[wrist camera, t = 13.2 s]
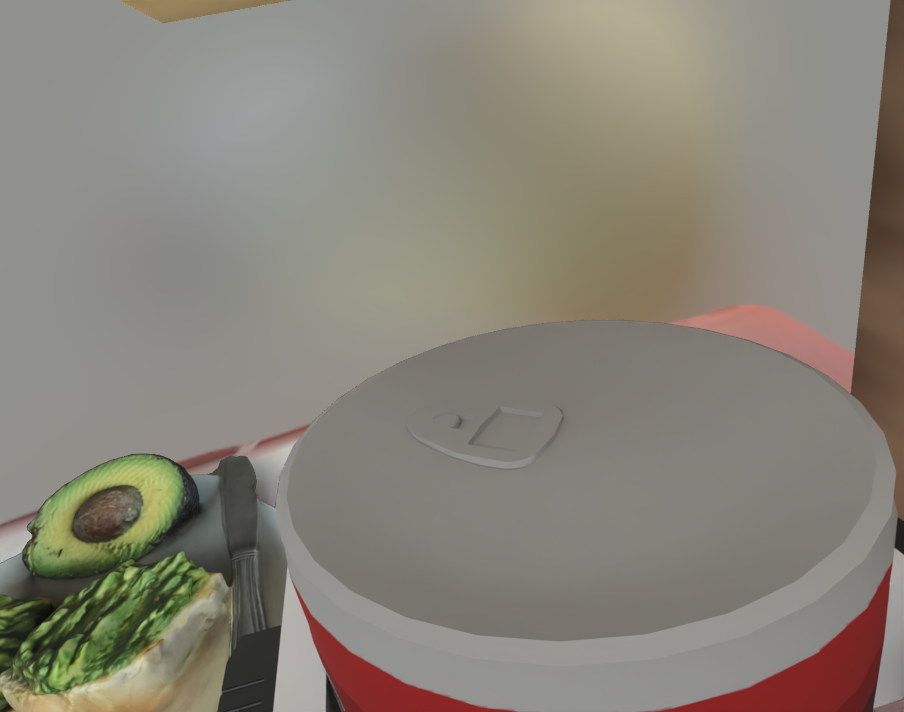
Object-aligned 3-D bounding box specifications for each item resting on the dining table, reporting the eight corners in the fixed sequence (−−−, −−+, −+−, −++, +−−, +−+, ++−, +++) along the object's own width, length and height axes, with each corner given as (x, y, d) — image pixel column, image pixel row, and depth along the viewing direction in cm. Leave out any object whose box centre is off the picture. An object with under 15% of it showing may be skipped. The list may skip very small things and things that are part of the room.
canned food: (470, 678, 17) (382, 330, 13) (779, 712, 15) (801, 297, 10) (374, 1066, 11) (124, 626, 6) (903, 1242, 8) (1106, 722, 4)
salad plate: (473, 616, 22) (451, 516, 20) (-169, 1289, 11) (-354, 1205, 9) (226, 465, 35) (199, 396, 33) (-179, 700, 24) (-254, 616, 22)
